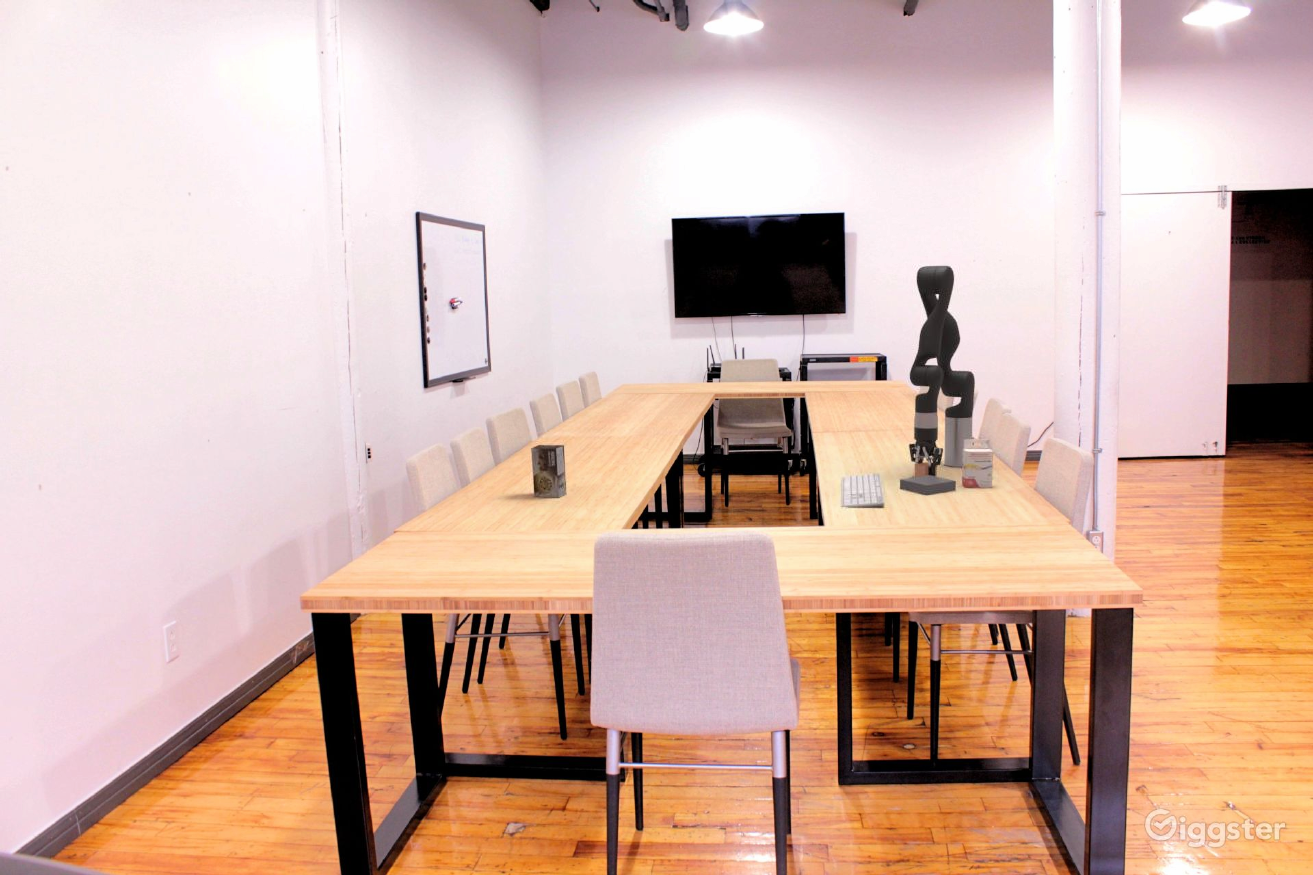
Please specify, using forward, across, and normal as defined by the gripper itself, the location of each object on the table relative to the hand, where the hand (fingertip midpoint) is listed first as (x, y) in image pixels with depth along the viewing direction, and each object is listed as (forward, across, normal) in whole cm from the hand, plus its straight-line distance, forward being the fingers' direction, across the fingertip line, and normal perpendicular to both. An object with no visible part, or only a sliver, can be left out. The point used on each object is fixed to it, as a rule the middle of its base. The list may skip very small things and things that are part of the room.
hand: (925, 476), depth 335 cm
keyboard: (+2, -4, +30) cm, 30 cm away
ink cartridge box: (+1, -18, -5) cm, 19 cm away
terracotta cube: (+1, 0, 0) cm, 1 cm away
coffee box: (+1, +50, +113) cm, 124 cm away
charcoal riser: (+1, -13, +11) cm, 17 cm away
